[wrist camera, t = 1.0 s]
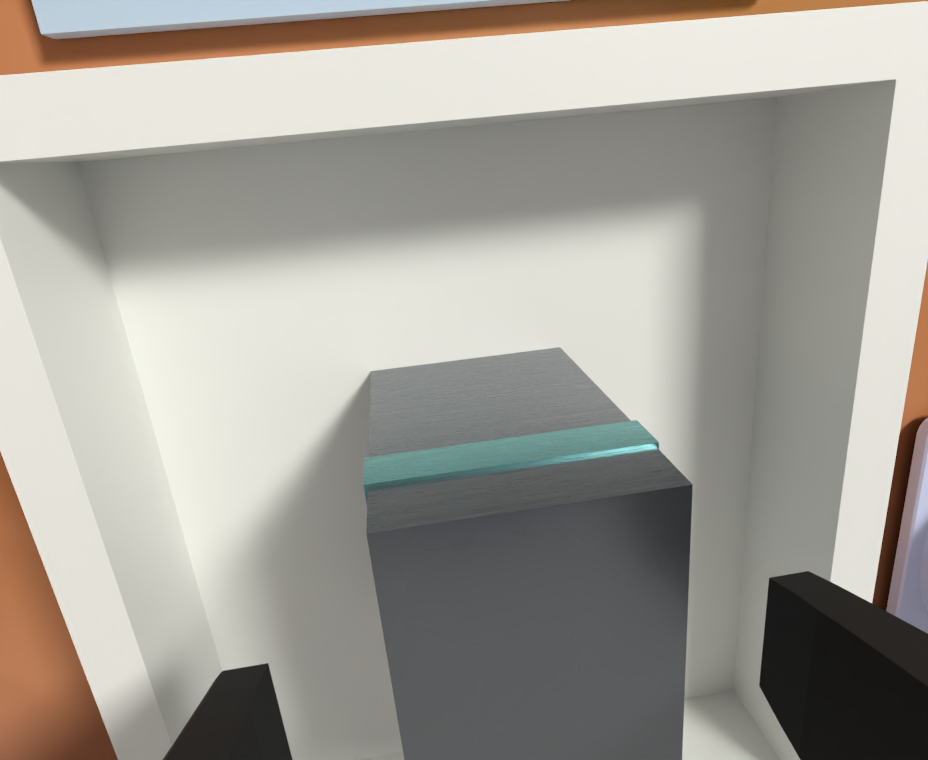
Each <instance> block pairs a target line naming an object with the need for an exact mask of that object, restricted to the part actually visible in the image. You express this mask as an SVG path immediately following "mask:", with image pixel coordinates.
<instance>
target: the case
mask: <svg viewBox="0 0 928 760" xmlns="http://www.w3.org/2000/svg"><path fill="white" fill-rule="evenodd" d="M927 261H928V1H923V2H911V3H898V4H886V5H874V6H861V7H849V8H836V9H824V10H811V11H799V12H786V13H774V14H761V15H749V16H736V17H724V18H711V19H699V20H686V21H674V22H662V23H649V24H637V25H624V26H612V27H599V28H587V29H574V30H562V31H549V32H537V33H524V34H512V35H499V36H487V37H474V38H462V39H450V40H437V41H425V42H412V43H400V44H387V45H375V46H362V47H350V48H337V49H325V50H312V51H300V52H287V53H275V54H262V55H250V56H238V57H225V58H213V59H200V60H188V61H175V62H163V63H150V64H138V65H125V66H113V67H100V68H88V69H75V70H63V71H50V72H38V73H26V74H13V75H1V76H0V452H1V454H2V457H3V460H4V462H5V465H6V468H7V470H8V473H9V475H10V478H11V481H12V483H13V486H14V489H15V491H16V494H17V496H18V499H19V502H20V504H21V507H22V509H23V512H24V515H25V517H26V520H27V523H28V525H29V528H30V530H31V533H32V536H33V538H34V541H35V544H36V546H37V549H38V551H39V554H40V557H41V559H42V562H43V565H44V567H45V570H46V572H47V575H48V578H49V580H50V583H51V585H52V588H53V591H54V593H55V596H56V599H57V601H58V604H59V606H60V609H61V612H62V614H63V617H64V620H65V622H66V625H67V627H68V630H69V633H70V635H71V638H72V641H73V643H74V646H75V648H76V651H77V654H78V656H79V659H80V661H81V664H82V667H83V669H84V672H85V675H86V677H87V680H88V682H89V685H90V688H91V690H92V693H93V696H94V698H95V701H96V703H97V706H98V709H99V711H100V714H101V717H102V719H103V722H104V724H105V727H106V730H107V732H108V735H109V738H110V740H111V743H112V745H113V748H114V751H115V753H116V756H117V758H118V760H163V758H164V757H165V755H166V754H167V752H168V751H169V749H170V748H171V746H172V745H173V743H174V742H175V740H176V739H177V737H178V736H179V734H180V733H181V731H182V730H183V728H184V727H185V725H186V724H187V722H188V721H189V719H190V718H191V716H192V714H193V713H194V711H195V710H196V708H197V707H198V705H199V704H200V702H201V701H202V699H203V697H204V696H205V694H206V693H207V691H208V690H209V688H210V687H211V685H212V684H213V682H214V681H215V679H216V678H217V677H218V676H219V674H220V673H221V672H222V671H225V670H231V669H237V668H243V667H249V666H254V665H260V664H266V663H268V665H269V669H270V673H271V677H272V681H273V685H274V689H275V693H276V696H277V700H278V704H279V708H280V712H281V716H282V720H283V724H284V728H285V732H286V736H287V740H288V744H289V748H290V752H291V756H292V760H404V755H403V749H402V743H401V737H400V731H399V725H398V719H397V713H396V707H395V701H394V695H393V689H392V683H391V677H390V671H389V665H388V659H387V653H386V648H385V642H384V636H383V630H382V624H381V618H380V612H379V606H378V600H377V594H376V588H375V582H374V576H373V570H372V564H371V558H370V552H369V546H368V540H367V535H366V528H367V504H366V498H365V492H364V486H363V481H364V458H369V423H370V387H371V371H377V370H385V369H392V368H400V367H408V366H416V365H424V364H432V363H440V362H447V361H455V360H463V359H471V358H479V357H487V356H495V355H503V354H510V353H518V352H526V351H534V350H542V349H550V348H558V347H560V348H561V349H562V350H563V351H564V352H565V353H566V354H567V355H568V356H569V357H570V358H571V359H572V360H573V361H574V362H575V363H576V364H577V365H578V366H579V367H580V368H581V369H582V371H583V372H584V373H585V374H586V375H587V376H588V377H589V378H590V379H591V380H592V381H593V382H594V383H595V384H596V385H597V386H598V387H599V388H600V389H601V390H602V391H603V392H604V393H605V394H606V395H607V396H608V397H609V398H610V399H611V401H612V402H613V403H614V404H615V405H616V406H617V407H618V408H619V409H620V410H621V411H622V412H623V413H624V414H625V415H626V416H627V417H628V418H629V419H630V420H631V421H634V420H637V421H638V422H639V423H640V424H641V425H642V426H643V427H644V428H645V429H646V430H647V431H648V432H649V433H650V434H651V435H652V436H653V437H654V438H655V439H656V440H657V441H658V442H659V450H660V451H661V452H662V453H663V454H664V455H665V456H666V457H667V458H668V460H669V461H670V462H671V463H672V464H673V465H674V466H675V467H676V468H677V469H678V470H679V471H680V472H681V473H682V474H683V475H684V476H685V477H686V478H687V479H688V480H689V481H690V482H691V483H692V484H693V489H692V515H691V541H690V567H689V592H688V618H687V644H686V670H685V696H684V722H683V747H682V760H801V759H800V758H799V756H798V755H797V753H796V751H795V750H794V748H793V746H792V744H791V743H790V741H789V739H788V737H787V736H786V734H785V732H784V731H783V729H782V727H781V725H780V724H779V722H778V720H777V718H776V716H775V714H774V712H773V711H772V709H771V707H770V705H769V703H768V701H767V699H766V698H765V696H764V694H763V692H762V690H761V688H760V686H759V682H760V671H761V661H762V650H763V639H764V628H765V617H766V606H767V596H768V585H769V578H770V577H776V576H782V575H788V574H794V573H800V572H806V571H809V572H811V573H813V574H816V575H818V576H820V577H822V578H824V579H826V580H828V581H830V582H832V583H834V584H836V585H838V586H840V587H842V588H844V589H845V590H847V591H849V592H851V593H853V594H855V595H857V596H859V597H861V598H862V599H864V600H866V601H868V602H870V603H872V601H873V595H874V589H875V583H876V576H877V570H878V564H879V558H880V552H881V545H882V539H883V533H884V527H885V521H886V515H887V508H888V502H889V496H890V490H891V484H892V477H893V471H894V465H895V459H896V453H897V446H898V440H899V434H900V428H901V422H902V415H903V409H904V403H905V397H906V391H907V385H908V378H909V372H910V366H911V360H912V354H913V347H914V341H915V335H916V329H917V323H918V316H919V310H920V304H921V298H922V292H923V285H924V279H925V273H926V267H927Z"/></svg>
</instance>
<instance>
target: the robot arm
mask: <svg viewBox="0 0 928 760" xmlns="http://www.w3.org/2000/svg"><path fill="white" fill-rule="evenodd" d="M759 686H760V688H761V690H762V692H763V694H764V696H765V698H766V699H767V701H768V703H769V705H770V707H771V709H772V711H773V712H774V714H775V716H776V718H777V720H778V722H779V724H780V725H781V727H782V729H783V731H784V732H785V734H786V736H787V737H788V739H789V741H790V743H791V744H792V746H793V748H794V750H795V751H796V753H797V755H798V756H799V758H800V759H801V760H928V418H927V419H925V420H924V421H923V422H922V424H921V425H920V426H919V428H918V431H917V435H916V440H915V446H914V452H913V458H912V464H911V470H910V475H909V481H908V487H907V493H906V499H905V504H904V510H903V516H902V522H901V528H900V534H899V539H898V545H897V551H896V557H895V563H894V568H893V574H892V580H891V586H890V592H889V598H888V603H887V609H886V611H885V610H883V609H881V608H879V607H877V606H876V605H874V604H872V603H870V602H868V601H866V600H864V599H862V598H861V597H859V596H857V595H855V594H853V593H851V592H849V591H847V590H845V589H844V588H842V587H840V586H838V585H836V584H834V583H832V582H830V581H828V580H826V579H824V578H822V577H820V576H818V575H816V574H813V573H811V572H809V571H806V572H800V573H794V574H788V575H782V576H776V577H770V578H769V585H768V596H767V606H766V617H765V628H764V639H763V650H762V661H761V671H760V682H759ZM163 760H292V756H291V752H290V748H289V744H288V740H287V736H286V732H285V728H284V724H283V720H282V716H281V712H280V708H279V704H278V700H277V696H276V693H275V689H274V685H273V681H272V677H271V673H270V669H269V665H268V663H266V664H260V665H254V666H249V667H243V668H237V669H231V670H225V671H222V672H221V673H220V674H219V676H218V677H217V678H216V679H215V681H214V682H213V684H212V685H211V687H210V688H209V690H208V691H207V693H206V694H205V696H204V697H203V699H202V701H201V702H200V704H199V705H198V707H197V708H196V710H195V711H194V713H193V714H192V716H191V718H190V719H189V721H188V722H187V724H186V725H185V727H184V728H183V730H182V731H181V733H180V734H179V736H178V737H177V739H176V740H175V742H174V743H173V745H172V746H171V748H170V749H169V751H168V752H167V754H166V755H165V757H164V758H163Z"/></svg>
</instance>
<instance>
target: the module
mask: <svg viewBox="0 0 928 760" xmlns="http://www.w3.org/2000/svg"><path fill="white" fill-rule="evenodd" d="M363 486H364V492H365V498H366V504H367V528H366V535H367V540H368V546H369V552H370V558H371V564H372V570H373V576H374V582H375V588H376V594H377V600H378V606H379V612H380V618H381V624H382V630H383V636H384V642H385V648H386V653H387V659H388V665H389V671H390V677H391V683H392V689H393V695H394V701H395V707H396V713H397V719H398V725H399V731H400V737H401V743H402V749H403V755H404V760H682V747H683V722H684V696H685V670H686V644H687V618H688V592H689V567H690V541H691V515H692V489H693V484H692V483H691V482H690V481H689V480H688V479H687V478H686V477H685V476H684V475H683V474H682V473H681V472H680V471H679V470H678V469H677V468H676V467H675V466H674V465H673V464H672V463H671V462H670V461H669V460H668V458H667V457H666V456H665V455H664V454H663V453H662V452H661V451H660V450H659V442H658V441H657V440H656V439H655V438H654V437H653V436H652V435H651V434H650V433H649V432H648V431H647V430H646V429H645V428H644V427H643V426H642V425H641V424H640V423H639V422H638V421H637V420H634V421H631V420H630V419H629V418H628V417H627V416H626V415H625V414H624V413H623V412H622V411H621V410H620V409H619V408H618V407H617V406H616V405H615V404H614V403H613V402H612V401H611V399H610V398H609V397H608V396H607V395H606V394H605V393H604V392H603V391H602V390H601V389H600V388H599V387H598V386H597V385H596V384H595V383H594V382H593V381H592V380H591V379H590V378H589V377H588V376H587V375H586V374H585V373H584V372H583V371H582V369H581V368H580V367H579V366H578V365H577V364H576V363H575V362H574V361H573V360H572V359H571V358H570V357H569V356H568V355H567V354H566V353H565V352H564V351H563V350H562V349H561V348H560V347H558V348H550V349H542V350H534V351H526V352H518V353H510V354H503V355H495V356H487V357H479V358H471V359H463V360H455V361H447V362H440V363H432V364H424V365H416V366H408V367H400V368H392V369H385V370H377V371H371V387H370V423H369V458H364V481H363Z"/></svg>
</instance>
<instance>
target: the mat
mask: <svg viewBox="0 0 928 760" xmlns="http://www.w3.org/2000/svg"><path fill="white" fill-rule="evenodd" d="M31 1H32V4H33V8H34V11H35V15H36V18H37V22H38V25H39V29H40V32H41V34H42V35H45V36H48V37H50V38H53V39H68V38H81V37H94V36H107V35H121V34H134V33H147V32H160V31H173V30H187V29H200V28H213V27H226V26H239V25H253V24H266V23H279V22H292V21H305V20H318V19H332V18H345V17H358V16H371V15H384V14H398V13H411V12H424V11H437V10H450V9H464V8H477V7H490V6H503V5H516V4H530V3H543V2H556V1H569V0H31Z"/></svg>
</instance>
